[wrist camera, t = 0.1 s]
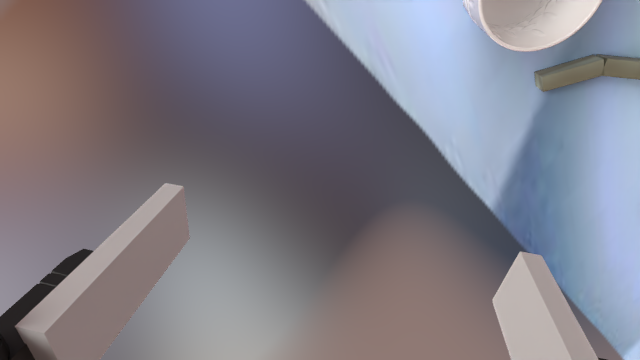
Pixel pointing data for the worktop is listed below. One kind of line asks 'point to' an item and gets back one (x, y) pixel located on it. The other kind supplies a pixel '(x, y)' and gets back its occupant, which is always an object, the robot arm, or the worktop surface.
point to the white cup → (530, 20)
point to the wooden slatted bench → (587, 70)
